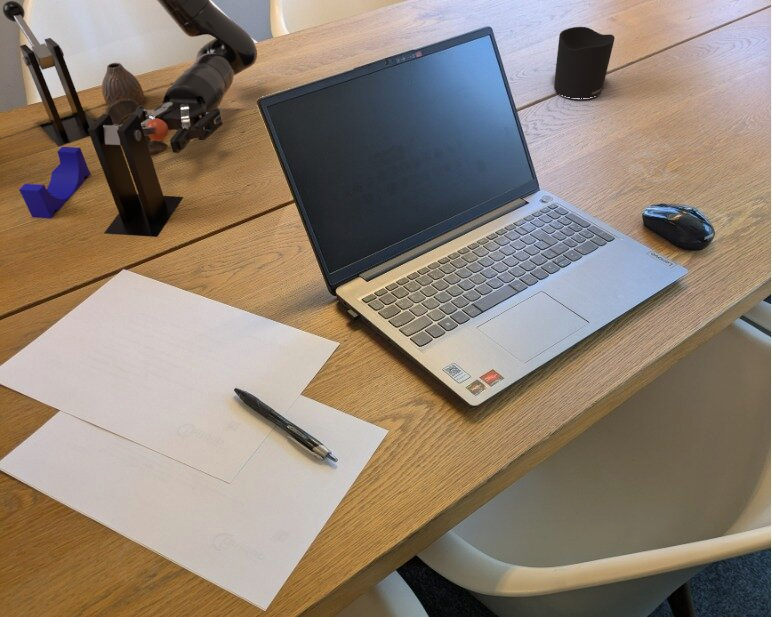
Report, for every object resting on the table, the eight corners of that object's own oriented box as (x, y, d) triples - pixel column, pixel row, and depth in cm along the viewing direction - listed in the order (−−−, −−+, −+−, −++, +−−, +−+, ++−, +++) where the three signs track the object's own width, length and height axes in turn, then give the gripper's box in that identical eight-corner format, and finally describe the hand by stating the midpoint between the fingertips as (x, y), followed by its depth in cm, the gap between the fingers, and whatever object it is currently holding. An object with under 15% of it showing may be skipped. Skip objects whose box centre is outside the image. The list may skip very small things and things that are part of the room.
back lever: (2, 15, 111) (-4, -1, 108) (21, 10, 112) (16, -6, 109) (39, 72, 107) (35, 57, 105) (59, 67, 109) (55, 52, 106)
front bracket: (136, 201, 100) (102, 103, 90) (185, 204, 99) (157, 105, 89) (106, 240, 93) (65, 139, 82) (159, 244, 92) (125, 142, 81)
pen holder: (557, 103, 119) (566, 48, 112) (546, 81, 126) (554, 27, 119) (609, 101, 119) (621, 45, 112) (595, 78, 126) (606, 25, 119)
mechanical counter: (160, 94, 115) (98, 92, 111) (168, 118, 106) (100, 117, 102) (162, 134, 119) (102, 133, 115) (170, 161, 109) (105, 161, 106)
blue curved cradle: (67, 179, 106) (53, 146, 101) (93, 181, 105) (80, 147, 101) (26, 223, 97) (9, 188, 93) (54, 225, 96) (38, 190, 92)
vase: (112, 105, 125) (96, 59, 119) (149, 101, 125) (135, 55, 120) (107, 122, 120) (91, 75, 114) (146, 117, 120) (132, 71, 115)
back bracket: (42, 132, 118) (4, 43, 107) (86, 117, 121) (53, 30, 111) (61, 153, 112) (23, 61, 101) (106, 137, 115) (74, 47, 105)
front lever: (153, 139, 99) (151, 117, 98) (173, 140, 99) (171, 118, 98) (101, 147, 86) (98, 122, 85) (124, 148, 86) (122, 123, 85)
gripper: (149, 71, 107) (101, 121, 95) (233, 74, 105) (195, 125, 93) (161, 114, 112) (117, 166, 100) (241, 118, 111) (207, 171, 98)
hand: (155, 146), depth 97 cm, fingers open, 5 cm apart
